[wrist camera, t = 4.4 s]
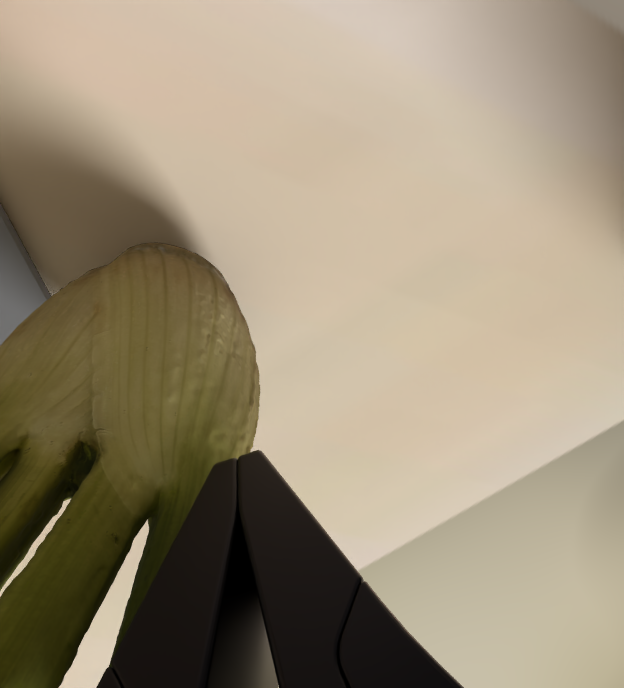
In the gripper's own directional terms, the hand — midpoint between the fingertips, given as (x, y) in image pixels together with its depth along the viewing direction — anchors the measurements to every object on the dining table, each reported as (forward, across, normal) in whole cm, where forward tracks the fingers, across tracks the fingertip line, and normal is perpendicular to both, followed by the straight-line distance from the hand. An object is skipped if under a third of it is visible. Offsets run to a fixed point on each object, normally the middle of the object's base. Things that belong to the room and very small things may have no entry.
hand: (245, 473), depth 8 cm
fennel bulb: (+9, +2, 0) cm, 9 cm away
